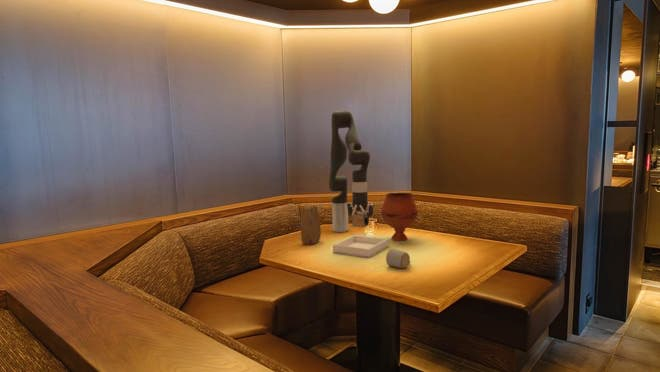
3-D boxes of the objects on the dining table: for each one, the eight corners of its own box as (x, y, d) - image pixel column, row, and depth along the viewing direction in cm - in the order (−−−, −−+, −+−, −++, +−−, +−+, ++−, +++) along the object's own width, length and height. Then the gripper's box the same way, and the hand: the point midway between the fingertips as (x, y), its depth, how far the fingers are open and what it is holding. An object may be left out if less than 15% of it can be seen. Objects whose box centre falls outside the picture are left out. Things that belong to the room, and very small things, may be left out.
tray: (354, 242, 228) (354, 235, 228) (388, 246, 218) (388, 238, 217) (332, 252, 210) (332, 244, 209) (369, 257, 199) (369, 249, 199)
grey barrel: (401, 271, 179) (401, 253, 178) (385, 267, 184) (385, 250, 184) (414, 265, 187) (414, 248, 186) (399, 261, 192) (399, 245, 191)
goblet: (422, 236, 235) (422, 192, 232) (409, 245, 219) (409, 197, 216) (390, 233, 245) (390, 190, 242) (376, 241, 229) (375, 195, 226)
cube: (358, 224, 216) (357, 212, 215) (368, 225, 213) (368, 213, 212) (352, 226, 211) (352, 214, 210) (363, 227, 208) (362, 215, 207)
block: (311, 245, 224) (309, 208, 222) (299, 243, 229) (298, 207, 226) (323, 241, 233) (321, 205, 231) (312, 239, 237) (310, 204, 235)
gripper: (376, 190, 209) (376, 223, 211) (350, 189, 217) (351, 221, 219) (369, 192, 203) (370, 226, 205) (343, 191, 211) (344, 224, 213)
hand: (360, 223), depth 212 cm, fingers closed on cube, 6 cm apart
